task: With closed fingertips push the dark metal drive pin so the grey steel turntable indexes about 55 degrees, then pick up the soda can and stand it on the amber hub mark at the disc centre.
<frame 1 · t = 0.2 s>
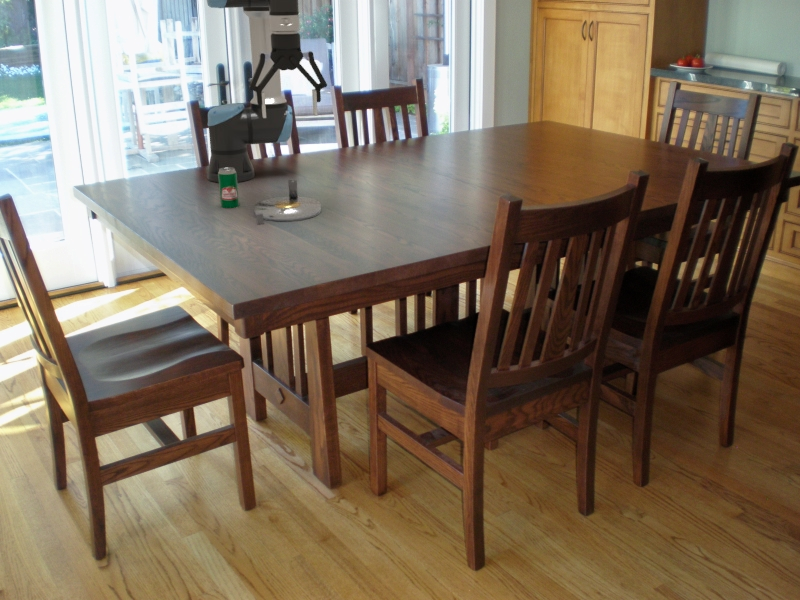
hand: (290, 116, 220), 27 cm above the table, fingers open, 13 cm apart
soda can: (230, 211, 234), on the table
turntable: (287, 199, 225), point 5 cm above the table, hinge at 0.0°
base plate: (288, 216, 227), on the table
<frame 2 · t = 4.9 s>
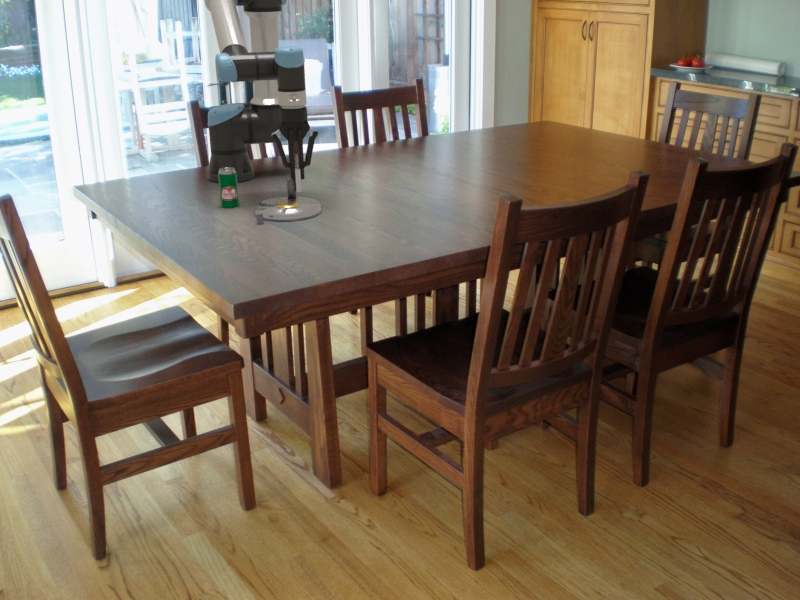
hand: (298, 190, 233), 5 cm above the table, fingers closed
turntable: (287, 199, 225), point 5 cm above the table, hinge at 3.3°, touching gripper
everything else where it was.
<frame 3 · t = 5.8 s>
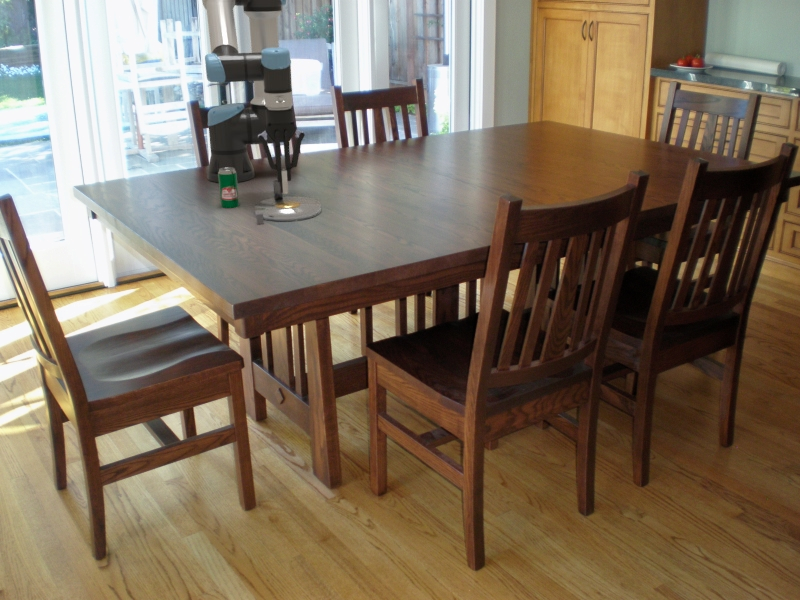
hand: (285, 192, 232), 5 cm above the table, fingers closed
turntable: (287, 199, 225), point 5 cm above the table, hinge at 32.4°, touching gripper
everything else where it was.
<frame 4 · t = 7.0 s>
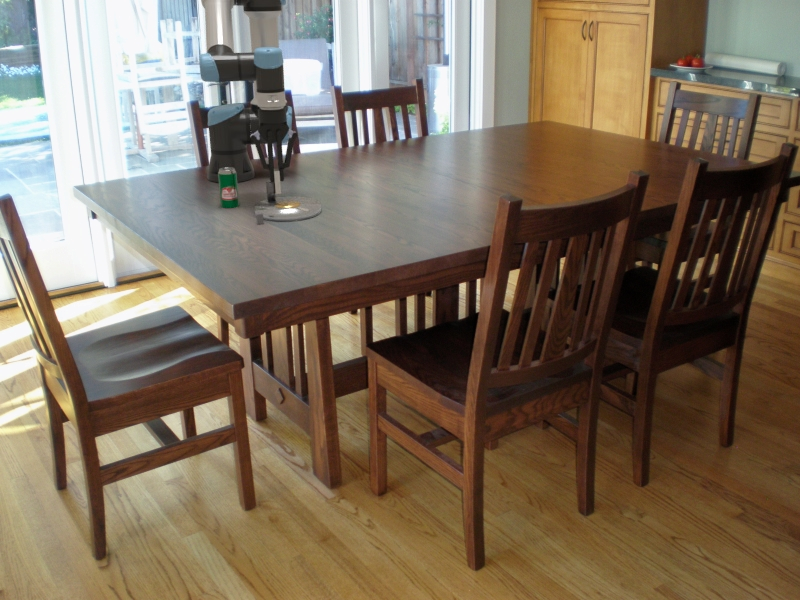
hand: (277, 192, 231), 5 cm above the table, fingers closed
turntable: (287, 199, 225), point 5 cm above the table, hinge at 49.7°, touching gripper
everything else where it was.
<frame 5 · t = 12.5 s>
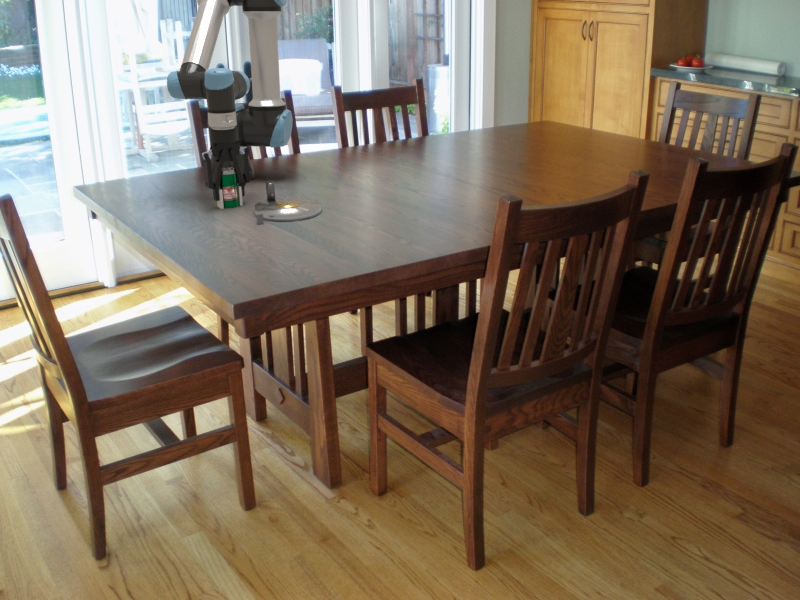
hand: (230, 209, 234), 0 cm above the table, fingers closed on soda can, 5 cm apart
soda can: (230, 211, 234), on the table, touching gripper
turntable: (287, 199, 225), point 5 cm above the table, hinge at 50.2°
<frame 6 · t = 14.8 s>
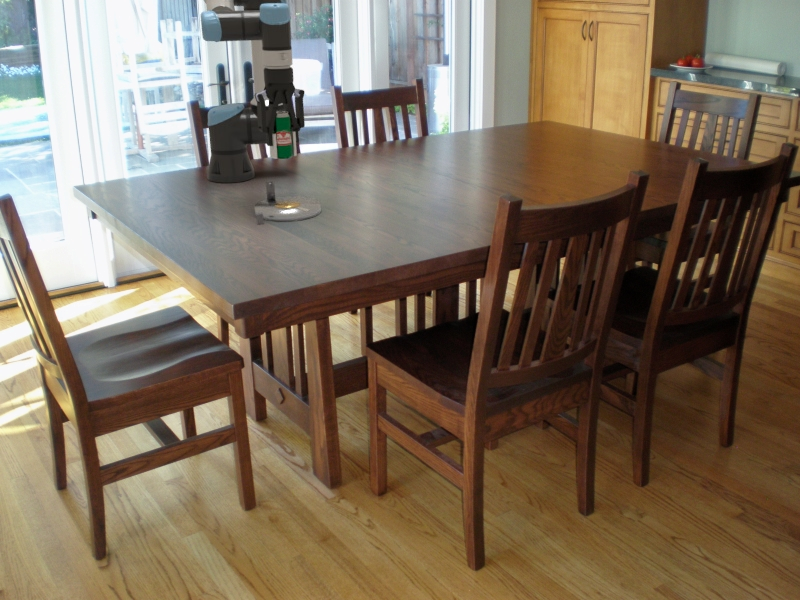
hand: (283, 156, 221), 17 cm above the table, fingers closed on soda can, 5 cm apart
soda can: (283, 158, 221), point 16 cm above the table, touching gripper
everything else where it was.
when the fingers open (5 cm above the table, at t = 17.2 s): soda can drops 2 cm, resting on turntable.
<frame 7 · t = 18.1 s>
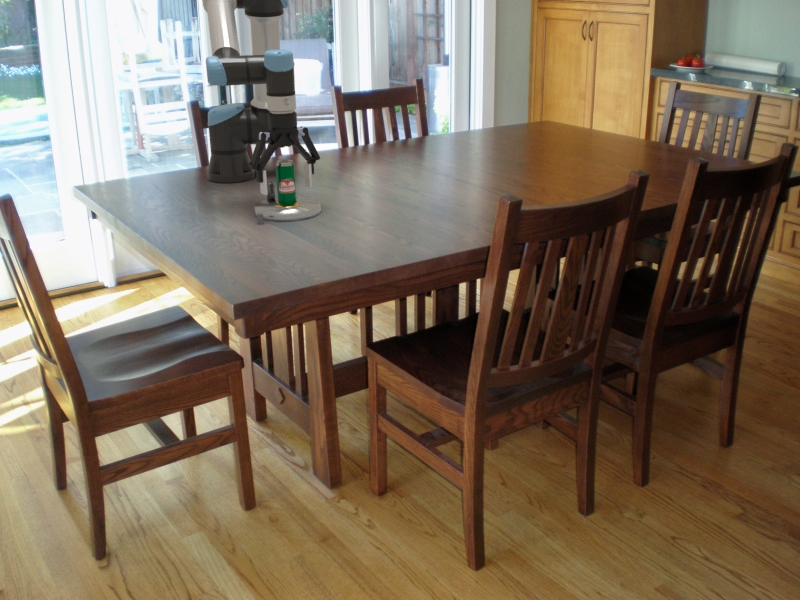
hand: (286, 190, 225), 8 cm above the table, fingers open, 13 cm apart
soda can: (287, 204, 226), point 3 cm above the table, touching turntable
turntable: (287, 199, 225), point 5 cm above the table, hinge at 50.2°, touching soda can
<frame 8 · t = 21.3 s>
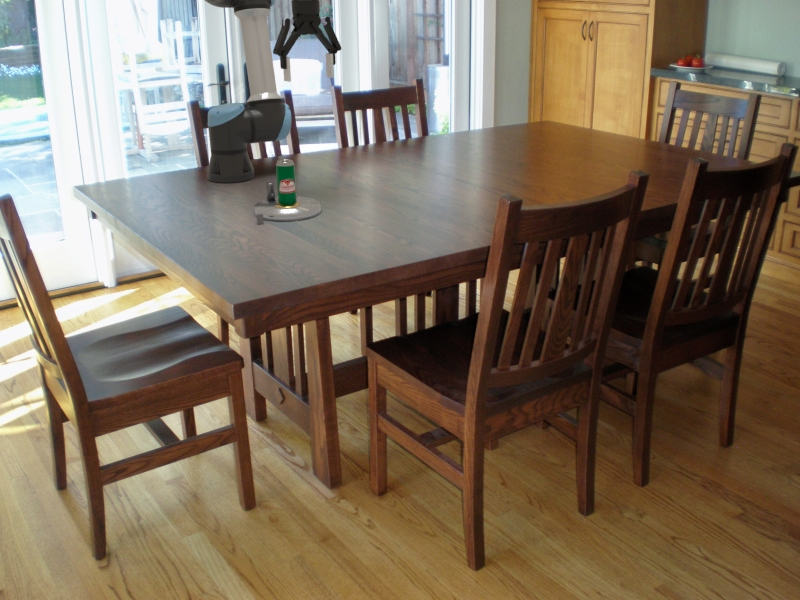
hand: (309, 79, 231), 35 cm above the table, fingers open, 13 cm apart
nothing on the table moved.
at the end: turntable at +50° (first picture: +0°); soda can 0.0 cm from the turntable (horizontally); soda can tilted 0° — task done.
